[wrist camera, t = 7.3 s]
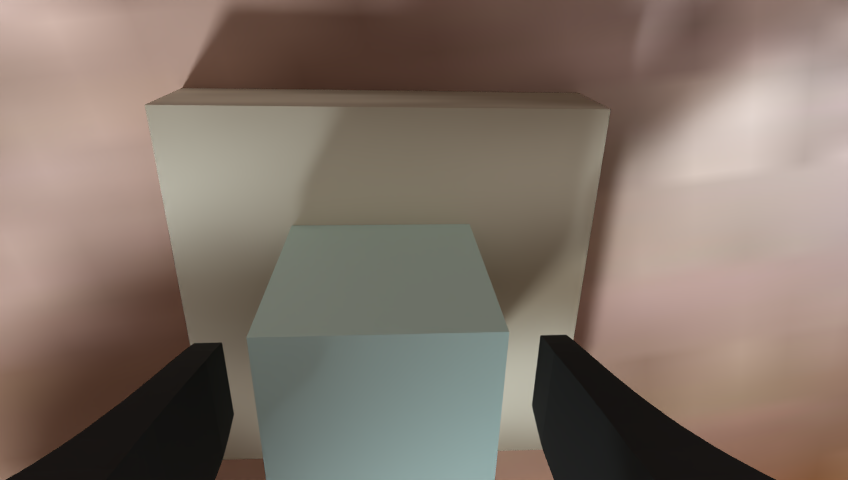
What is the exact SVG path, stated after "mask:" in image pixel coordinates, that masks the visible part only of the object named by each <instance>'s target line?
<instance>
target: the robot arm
mask: <svg viewBox="0 0 848 480" xmlns="http://www.w3.org/2000/svg"><path fill="white" fill-rule="evenodd" d="M532 408H533V413H534V417H535V421H536V426H537V430H538V434H539V438H540V442H541V446H542V449H543V451H544V454H545V457H546V459H547V462H548V465H549V467H550V470H551V473H552V475H553V478H554V480H776V479H773V478H771V477H769V476H767V475H765V474H763V473H762V472H760V471H758V470H756V469H754V468H752V467H750V466H748V465H747V464H745V463H743V462H741V461H739V460H737V459H735V458H734V457H732V456H730V455H728V454H726V453H725V452H723V451H721V450H720V449H718V448H716V447H714V446H713V445H711V444H709V443H708V442H706V441H705V440H703V439H701V438H700V437H698V436H697V435H695V434H694V433H692V432H690V431H689V430H687V429H686V428H684V427H682V426H681V425H679V424H678V423H677V422H675V421H674V420H672V419H671V418H669V417H668V416H666V415H665V414H664V413H662V412H661V411H660V410H658V409H657V408H655V407H654V406H653V405H651V404H650V403H649V402H647V401H646V400H645V399H643V398H642V397H641V396H639V395H638V394H637V393H636V392H634V391H633V390H632V389H630V388H629V387H628V386H627V385H625V384H624V383H623V382H622V381H621V380H619V379H618V378H617V377H616V376H614V375H613V374H612V373H611V372H610V371H609V370H607V369H606V368H605V367H604V366H603V365H602V364H600V363H599V362H598V361H597V360H596V359H595V358H593V357H592V356H591V355H590V354H589V353H588V352H586V351H585V350H584V349H583V348H582V347H581V346H580V345H578V344H577V343H576V342H575V341H574V340H572V339H571V338H570V337H569V336H567V335H540V342H539V351H538V359H537V367H536V375H535V384H534V392H533V400H532ZM233 417H234V411H233V405H232V399H231V393H230V387H229V381H228V375H227V369H226V363H225V357H224V351H223V345H222V342H218V343H194V344H192V345H191V346H190V347H188V348H187V349H186V350H185V351H183V352H182V353H181V354H180V355H178V356H177V357H176V358H175V359H174V360H172V361H171V362H170V363H169V364H168V365H166V366H165V367H164V368H163V369H162V370H160V371H159V372H158V373H157V374H156V375H154V376H153V377H152V378H151V379H150V380H148V381H147V382H146V383H145V384H143V385H142V386H141V387H140V388H139V389H137V390H136V391H135V392H134V393H132V394H131V395H130V396H129V397H127V398H126V399H125V400H124V401H122V402H121V403H120V404H118V405H117V406H116V407H114V408H113V409H112V410H110V411H109V412H108V413H106V414H105V415H104V416H102V417H101V418H100V419H98V420H97V421H96V422H94V423H93V424H92V425H90V426H89V427H88V428H86V429H85V430H84V431H82V432H81V433H79V434H78V435H76V436H75V437H74V438H72V439H71V440H69V441H68V442H66V443H65V444H63V445H62V446H60V447H59V448H57V449H56V450H54V451H52V452H51V453H49V454H48V455H46V456H45V457H43V458H41V459H40V460H38V461H37V462H35V463H34V464H32V465H30V466H29V467H27V468H25V469H24V470H22V471H20V472H19V473H17V474H15V475H13V476H12V477H10V478H8V479H6V480H215V478H216V476H217V473H218V470H219V468H220V465H221V462H222V460H223V457H224V453H225V450H226V446H227V442H228V438H229V434H230V430H231V425H232V421H233Z"/></svg>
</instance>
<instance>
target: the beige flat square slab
mask: <svg viewBox="0 0 848 480" xmlns="http://www.w3.org/2000/svg"><path fill="white" fill-rule="evenodd" d="M145 109H146V114H147V119H148V124H149V130H150V135H151V140H152V146H153V151H154V156H155V162H156V167H157V172H158V177H159V183H160V188H161V193H162V199H163V204H164V209H165V215H166V220H167V225H168V231H169V236H170V241H171V246H172V252H173V257H174V262H175V268H176V273H177V278H178V284H179V289H180V294H181V300H182V305H183V310H184V315H185V321H186V326H187V331H188V337H189V342H190V346H191V345H192V344H194V343H218V342H222V345H223V351H224V357H225V363H226V369H227V375H228V381H229V387H230V393H231V399H232V405H233V411H234V417H233V421H232V425H231V430H230V434H229V438H228V442H227V446H226V450H225V453H224V457H223V460H230V459H261V458H263V453H262V446H261V439H260V432H259V425H258V418H257V410H256V403H255V396H254V389H253V382H252V375H251V368H250V360H249V353H248V346H247V339H246V337H247V335H248V332H249V330H250V327H251V325H252V322H253V320H254V318H255V315H256V313H257V310H258V308H259V305H260V303H261V300H262V298H263V295H264V293H265V290H266V288H267V285H268V283H269V281H270V278H271V276H272V273H273V271H274V268H275V266H276V263H277V261H278V258H279V256H280V253H281V251H282V248H283V246H284V243H285V241H286V239H287V236H288V234H289V231H290V229H291V226H292V225H409V224H470V227H471V229H472V232H473V235H474V237H475V240H476V243H477V246H478V248H479V251H480V254H481V256H482V259H483V262H484V265H485V267H486V270H487V273H488V275H489V278H490V281H491V284H492V286H493V289H494V292H495V294H496V297H497V300H498V302H499V305H500V308H501V311H502V313H503V316H504V319H505V321H506V324H507V327H508V330H509V341H508V351H507V361H506V371H505V381H504V391H503V401H502V411H501V421H500V432H499V442H498V451H509V450H540V449H542V446H541V442H540V438H539V434H538V430H537V426H536V421H535V417H534V413H533V408H532V400H533V392H534V384H535V375H536V367H537V359H538V351H539V342H540V335H567V336H569V337H570V338H571V339H572V340H573V339H574V333H575V327H576V320H577V314H578V308H579V302H580V296H581V290H582V283H583V277H584V271H585V265H586V259H587V252H588V246H589V240H590V234H591V228H592V222H593V215H594V209H595V203H596V197H597V191H598V185H599V178H600V172H601V166H602V160H603V154H604V148H605V141H606V135H607V129H608V123H609V117H610V110H611V109H609V108H607V107H605V106H603V105H601V104H599V103H597V102H595V101H593V100H591V99H589V98H587V97H585V96H583V95H581V94H579V93H547V92H468V91H389V90H310V89H230V88H181V89H179V90H176V91H174V92H172V93H170V94H168V95H165V96H163V97H161V98H159V99H157V100H154V101H152V102H150V103H148V104H145Z"/></svg>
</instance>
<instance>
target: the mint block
mask: <svg viewBox="0 0 848 480" xmlns="http://www.w3.org/2000/svg"><path fill="white" fill-rule="evenodd" d="M246 339H247V346H248V353H249V360H250V368H251V375H252V382H253V389H254V396H255V403H256V410H257V418H258V425H259V432H260V439H261V446H262V453H263V460H264V468H265V475H266V480H495V472H496V462H497V452H498V442H499V432H500V421H501V411H502V401H503V391H504V381H505V371H506V361H507V351H508V341H509V330H508V327H507V324H506V321H505V319H504V316H503V313H502V311H501V308H500V305H499V302H498V300H497V297H496V294H495V292H494V289H493V286H492V284H491V281H490V278H489V275H488V273H487V270H486V267H485V265H484V262H483V259H482V256H481V254H480V251H479V248H478V246H477V243H476V240H475V237H474V235H473V232H472V229H471V227H470V224H409V225H292V226H291V229H290V231H289V234H288V236H287V239H286V241H285V243H284V246H283V248H282V251H281V253H280V256H279V258H278V261H277V263H276V266H275V268H274V271H273V273H272V276H271V278H270V281H269V283H268V285H267V288H266V290H265V293H264V295H263V298H262V300H261V303H260V305H259V308H258V310H257V313H256V315H255V318H254V320H253V322H252V325H251V327H250V330H249V332H248V335H247V337H246Z"/></svg>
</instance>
